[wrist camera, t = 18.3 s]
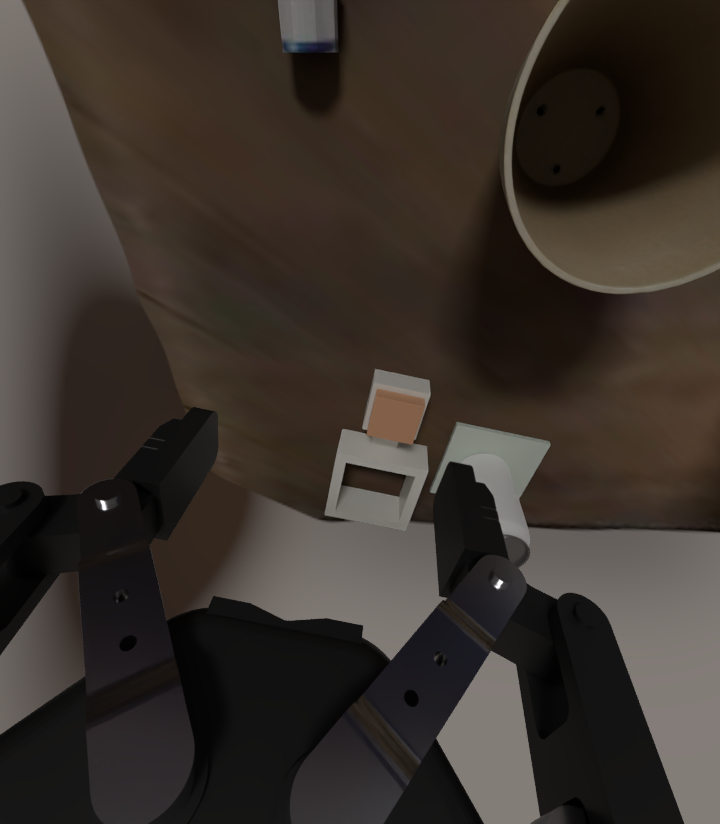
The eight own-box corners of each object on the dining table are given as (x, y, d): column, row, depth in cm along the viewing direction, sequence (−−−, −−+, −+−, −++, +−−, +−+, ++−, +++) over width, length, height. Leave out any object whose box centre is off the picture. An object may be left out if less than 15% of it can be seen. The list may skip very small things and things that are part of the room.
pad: (549, 441, 46) (550, 444, 46) (511, 506, 52) (512, 509, 52) (456, 421, 46) (457, 424, 46) (429, 489, 52) (430, 492, 52)
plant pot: (434, 206, 34) (452, 243, 21) (523, -40, 26) (645, -232, 13) (593, 261, 35) (704, 331, 22) (726, 44, 27) (1030, -52, 14)
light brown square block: (423, 384, 44) (425, 406, 40) (411, 420, 46) (412, 444, 43) (378, 374, 43) (376, 395, 40) (369, 411, 46) (366, 435, 42)
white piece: (449, 384, 43) (453, 406, 40) (405, 504, 54) (405, 531, 50) (355, 364, 43) (350, 385, 39) (330, 489, 54) (324, 514, 50)
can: (519, 461, 47) (548, 544, 38) (491, 496, 51) (511, 581, 41) (469, 444, 47) (486, 524, 37) (444, 481, 50) (454, 563, 40)
